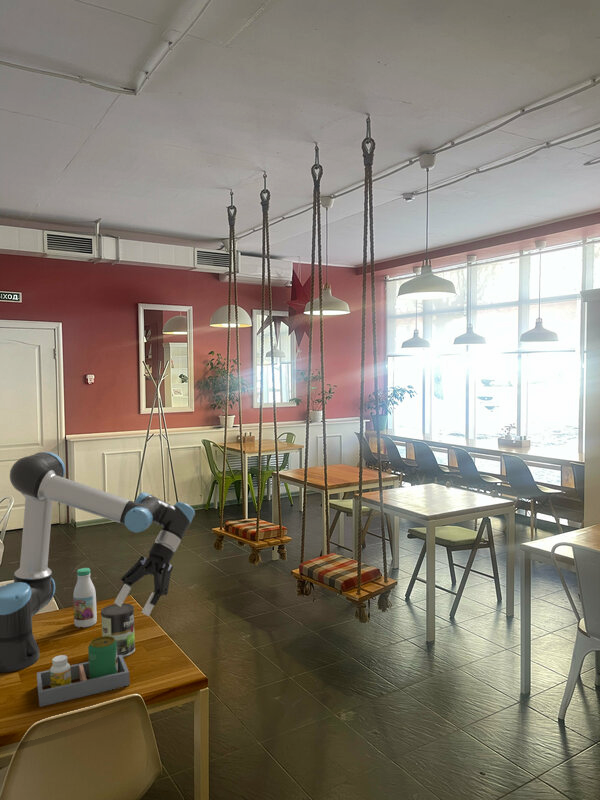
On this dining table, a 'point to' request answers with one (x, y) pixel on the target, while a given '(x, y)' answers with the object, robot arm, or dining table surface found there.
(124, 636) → the coffee can
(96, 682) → the caddy
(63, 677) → the supplement bottle
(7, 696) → the dining table surface
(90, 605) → the milk bottle
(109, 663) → the beverage can
